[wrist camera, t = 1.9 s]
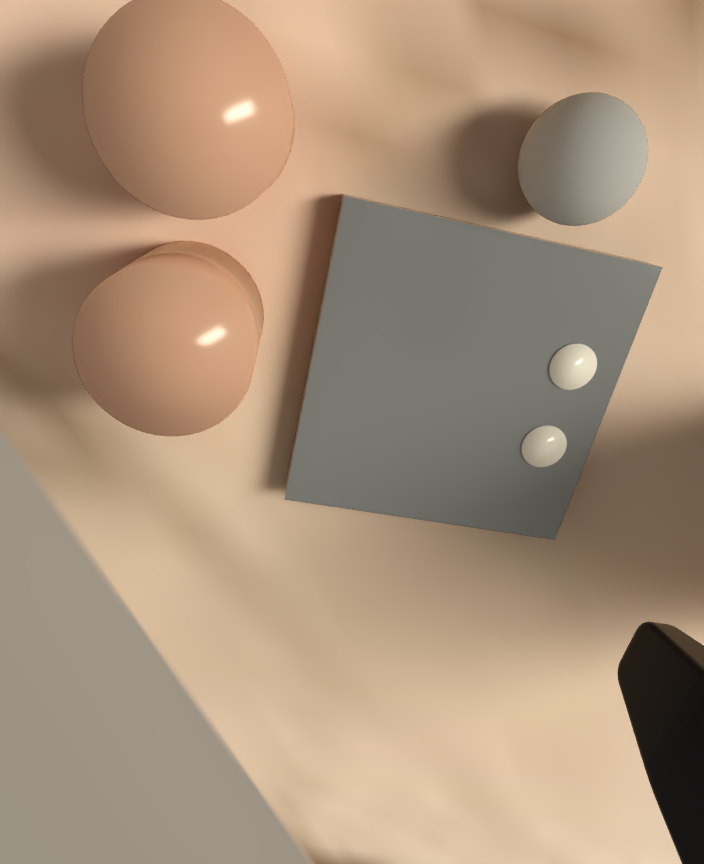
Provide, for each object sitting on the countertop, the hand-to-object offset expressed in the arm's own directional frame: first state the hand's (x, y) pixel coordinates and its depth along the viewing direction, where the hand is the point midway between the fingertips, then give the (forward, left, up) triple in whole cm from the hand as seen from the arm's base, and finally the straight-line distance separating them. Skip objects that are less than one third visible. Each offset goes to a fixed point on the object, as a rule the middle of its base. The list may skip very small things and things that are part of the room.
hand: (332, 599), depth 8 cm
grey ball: (-5, -7, -11) cm, 14 cm away
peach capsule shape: (+4, -1, -11) cm, 12 cm away
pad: (-4, 0, -11) cm, 12 cm away
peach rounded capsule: (+4, -6, -11) cm, 13 cm away
